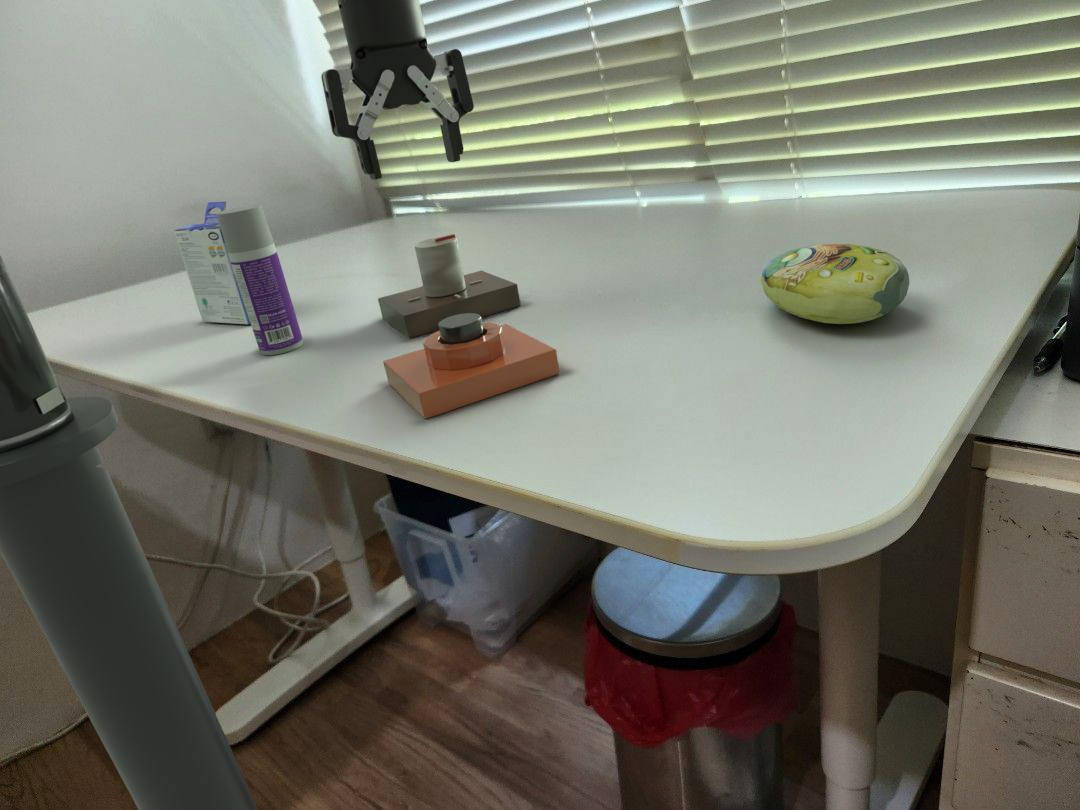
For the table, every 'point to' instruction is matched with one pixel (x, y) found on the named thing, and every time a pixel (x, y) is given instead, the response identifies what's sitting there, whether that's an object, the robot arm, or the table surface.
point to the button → (461, 328)
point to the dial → (440, 266)
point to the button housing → (469, 369)
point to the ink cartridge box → (211, 270)
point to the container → (260, 279)
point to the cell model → (836, 283)
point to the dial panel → (448, 304)
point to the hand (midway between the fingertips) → (415, 169)
